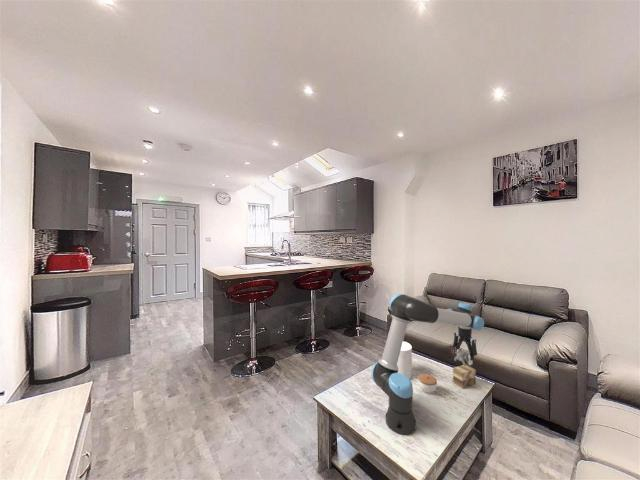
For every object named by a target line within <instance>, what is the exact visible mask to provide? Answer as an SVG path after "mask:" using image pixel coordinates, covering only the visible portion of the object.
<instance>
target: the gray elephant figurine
mask: <svg viewBox="0 0 640 480" xmlns="http://www.w3.org/2000/svg"><path fill="white" fill-rule="evenodd" d="M460 349H461V352H456V351H455V354H456V355H455V356H454V359H453V360H454V362H457V361H459V362H461V363H462V365H464V366H466V364H467V365H469V355H470V353H469V350H468V349H463V347H462V348H461V347H460Z"/></svg>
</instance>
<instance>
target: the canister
mask: <svg viewBox="0 0 640 480" xmlns="http://www.w3.org/2000/svg"><path fill="white" fill-rule="evenodd" d="M412 351H413V347H412V345H411V343H409V342H407V341H404V340H403V343H402V347H401V351H400V354H399V358H398V362H397V366H398V368H399V370H398V373H400V374H401V375H405V376H407V377H408V378H409V379H410V380H411V378H412V374H413V373H412V371H413V370H412V369H413V368H412V367H413V364H412V363H413V361H412V360H413V358H412V357H413V356H412Z"/></svg>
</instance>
